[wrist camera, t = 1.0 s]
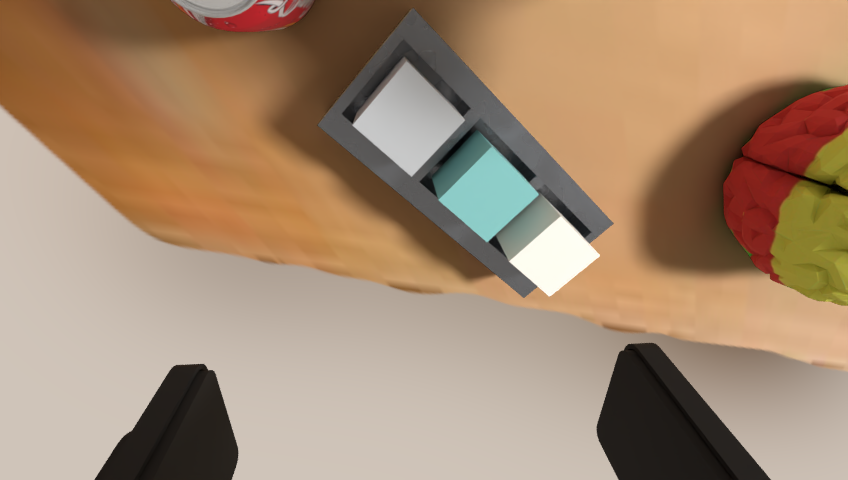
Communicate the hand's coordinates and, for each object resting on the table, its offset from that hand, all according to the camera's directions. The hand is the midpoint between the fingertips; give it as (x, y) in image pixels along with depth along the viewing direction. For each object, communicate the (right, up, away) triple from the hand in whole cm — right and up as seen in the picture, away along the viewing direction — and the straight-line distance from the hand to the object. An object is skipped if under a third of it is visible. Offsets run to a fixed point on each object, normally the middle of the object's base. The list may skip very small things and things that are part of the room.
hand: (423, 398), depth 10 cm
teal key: (+4, +9, +23) cm, 25 cm away
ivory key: (+10, +5, +26) cm, 28 cm away
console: (+4, +11, +26) cm, 29 cm away
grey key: (-1, +13, +20) cm, 24 cm away
